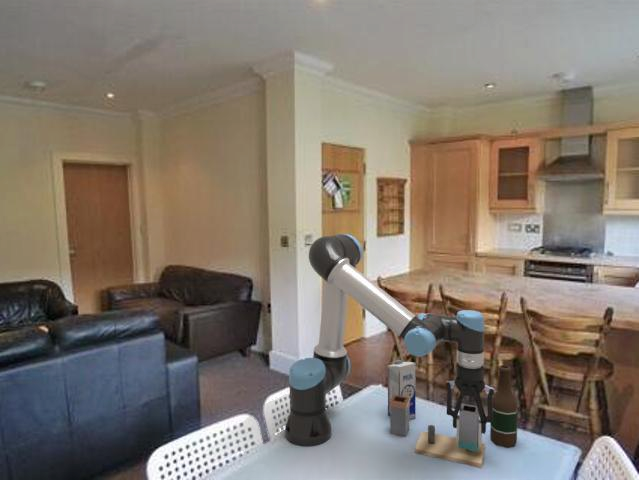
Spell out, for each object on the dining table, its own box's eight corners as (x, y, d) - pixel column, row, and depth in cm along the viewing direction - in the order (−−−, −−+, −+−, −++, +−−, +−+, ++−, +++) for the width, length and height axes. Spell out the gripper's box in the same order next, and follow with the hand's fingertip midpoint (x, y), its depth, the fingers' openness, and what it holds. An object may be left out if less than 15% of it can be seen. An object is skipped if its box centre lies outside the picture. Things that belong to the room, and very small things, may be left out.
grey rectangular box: (458, 447, 127) (458, 411, 126) (460, 438, 132) (461, 403, 131) (477, 451, 125) (478, 414, 124) (479, 441, 130) (480, 406, 129)
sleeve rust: (389, 433, 141) (389, 401, 140) (394, 426, 146) (393, 394, 145) (406, 437, 139) (406, 404, 138) (410, 429, 143) (410, 397, 143)
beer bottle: (520, 449, 131) (521, 372, 129) (492, 447, 132) (493, 370, 130) (513, 435, 138) (515, 362, 136) (488, 433, 140) (489, 361, 138)
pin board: (414, 452, 130) (414, 432, 130) (422, 434, 140) (422, 416, 140) (481, 467, 122) (482, 446, 122) (484, 447, 132) (485, 428, 132)
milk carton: (400, 423, 147) (399, 366, 146) (387, 415, 153) (387, 360, 152) (415, 418, 151) (415, 362, 149) (403, 410, 157) (403, 356, 155)
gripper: (435, 364, 127) (435, 440, 129) (503, 373, 119) (502, 454, 121) (440, 355, 134) (439, 428, 136) (504, 364, 126) (503, 440, 128)
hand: (469, 440), depth 128 cm, fingers closed on grey rectangular box, 5 cm apart
